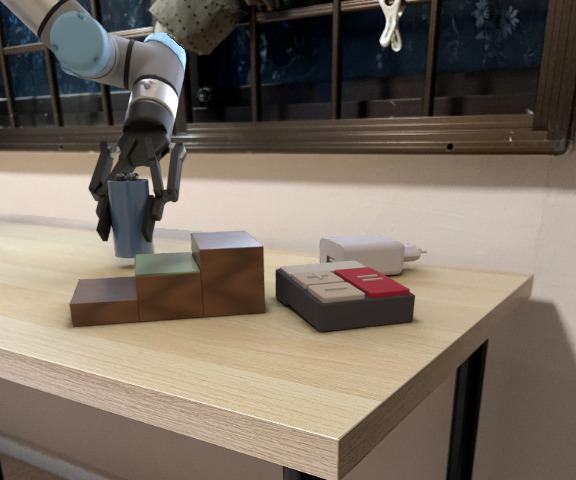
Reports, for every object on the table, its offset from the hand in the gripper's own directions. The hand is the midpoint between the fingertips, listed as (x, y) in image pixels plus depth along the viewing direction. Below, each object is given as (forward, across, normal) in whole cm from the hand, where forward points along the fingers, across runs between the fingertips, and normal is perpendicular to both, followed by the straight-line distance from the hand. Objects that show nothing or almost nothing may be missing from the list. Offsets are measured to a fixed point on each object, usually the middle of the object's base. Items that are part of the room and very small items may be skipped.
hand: (124, 236), depth 89 cm
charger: (+1, +37, +6) cm, 38 cm away
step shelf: (+17, +12, -10) cm, 23 cm away
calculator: (+17, +33, -10) cm, 38 cm away
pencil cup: (0, 0, +5) cm, 5 cm away
